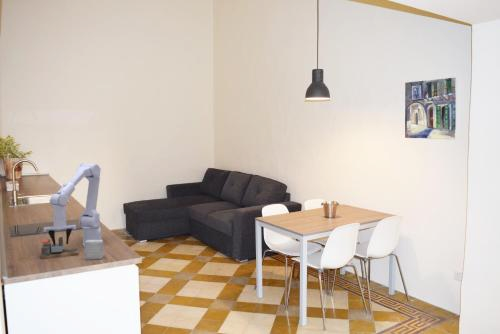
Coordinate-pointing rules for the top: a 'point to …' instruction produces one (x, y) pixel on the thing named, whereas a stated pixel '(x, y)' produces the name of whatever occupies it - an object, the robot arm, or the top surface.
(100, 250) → the medicine box
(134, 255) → the top surface
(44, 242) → the button
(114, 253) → the top surface
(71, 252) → the rail bed
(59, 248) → the carriage
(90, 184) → the robot arm
